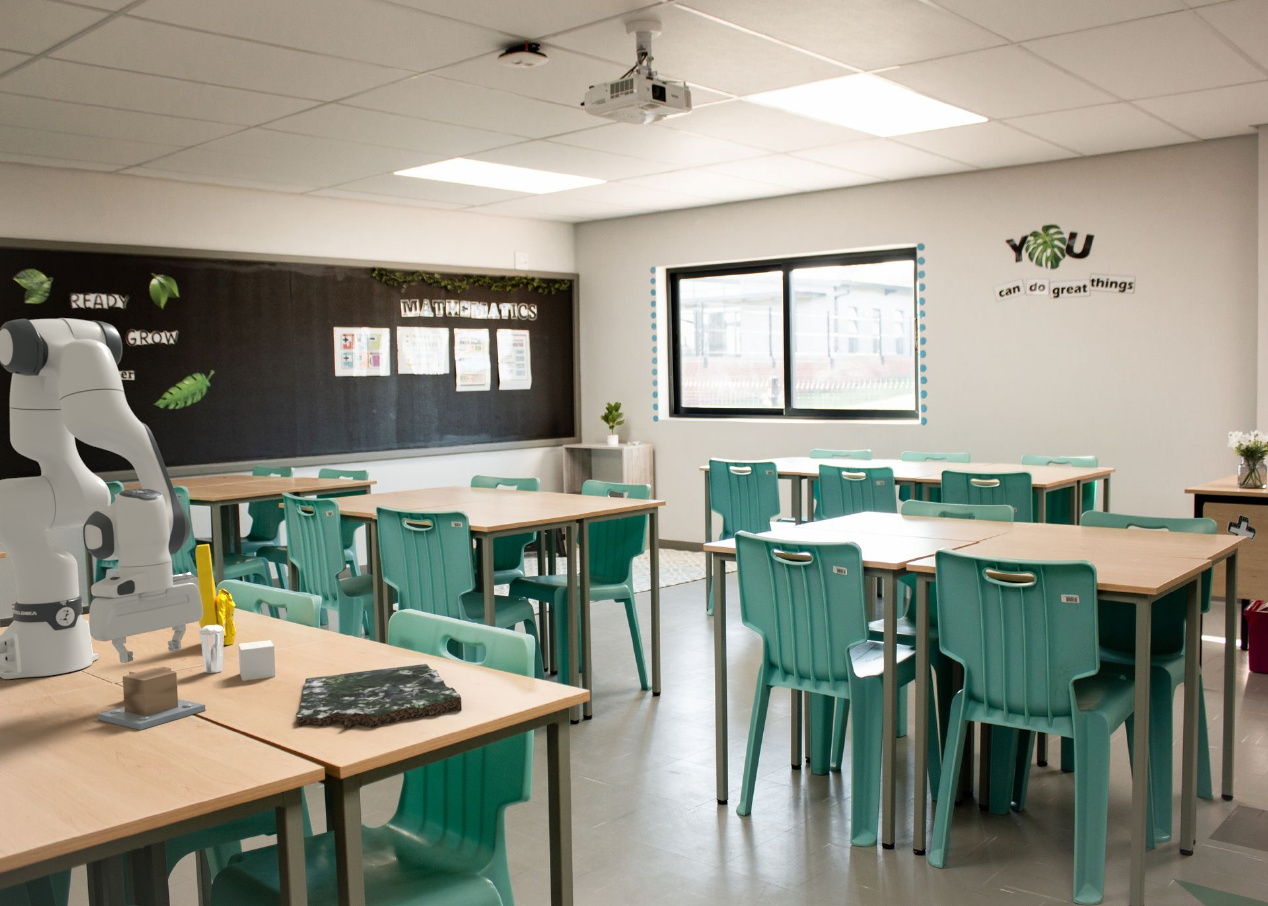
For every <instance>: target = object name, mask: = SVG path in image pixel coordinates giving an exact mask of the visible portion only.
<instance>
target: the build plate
mask: <svg viewBox="0 0 1268 906" xmlns="http://www.w3.org/2000/svg"><path fill="white" fill-rule="evenodd" d="M202 712H206V704H203V703H200V702H199V703H198V702H194V701H188V700H185V699H180V698H178V707H176V708H173V709H169V710H166V711H162V712H159V713H156V714H152V715H149V716H142V715H138V714H133V713H129V712H125V710H124V706H121V707H118V708H115V709H111V710H106V711H103V712H99V713H97V720H98V721H102V722H106V723H110V724H115V725H118V726H122V727H126V728H131V729H135V730H138V731H139V730H140V731H142V730H145V729H149V728H153V727H155V726H158V725H161V724H165V723H168V722H171V721H175V720H178V719H181V718H185V717H188V716H192V715H195V714H198V713H202Z"/></svg>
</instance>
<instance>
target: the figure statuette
mask: <svg viewBox="0 0 1268 906" xmlns="http://www.w3.org/2000/svg"><path fill="white" fill-rule="evenodd" d="M210 547H211V546H210V544H209V543H206V544H199V545H196V548H195V561H196V568H197V569H196V572H197V578H198V581H199V592H200V596H201V601H202V607H203V616H202V618H201V620H200V621H198V625H199V627H200V630H201V629H202V628H203V627H205V626H207V625H219V626H222V627H223V626H224V623H225V621H226V624H225V626H224V646H230V645H233V644H234V642H235V639H236V634H237V630H236V629H237V628H236V625H235V621H234V613H235V607H236V604H235V602H234V601H233V597H232V596H233V595H232V594H231V593H230V592H229V591H227V590H226V589H225V588H220V589H219V588H218V594H217V590H216V584H215V579H214V571H213V565H212V561H213V560H212V553H211V548H210Z"/></svg>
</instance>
